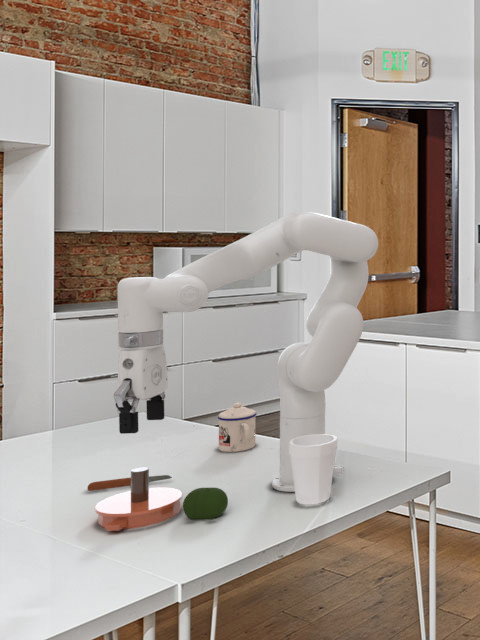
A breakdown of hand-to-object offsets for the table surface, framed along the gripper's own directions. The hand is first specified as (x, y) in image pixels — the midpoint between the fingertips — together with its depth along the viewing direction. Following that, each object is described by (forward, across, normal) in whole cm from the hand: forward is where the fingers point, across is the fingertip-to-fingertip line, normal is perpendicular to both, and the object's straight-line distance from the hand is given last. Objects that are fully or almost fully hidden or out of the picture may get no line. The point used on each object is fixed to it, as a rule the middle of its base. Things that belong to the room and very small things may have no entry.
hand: (142, 426), depth 145 cm
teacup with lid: (+19, +46, 0) cm, 50 cm away
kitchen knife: (+18, +18, +12) cm, 28 cm away
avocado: (+18, -2, -12) cm, 22 cm away
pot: (+18, -1, 0) cm, 18 cm away
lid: (+15, -1, 0) cm, 15 cm away
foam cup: (+19, +6, -31) cm, 36 cm away
